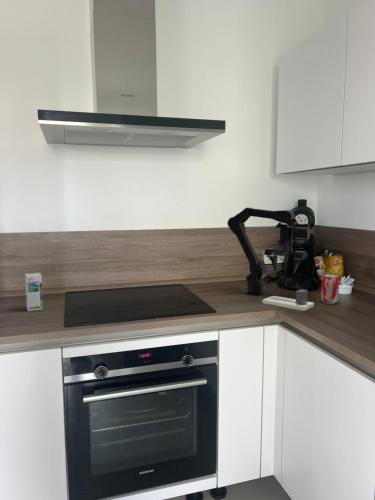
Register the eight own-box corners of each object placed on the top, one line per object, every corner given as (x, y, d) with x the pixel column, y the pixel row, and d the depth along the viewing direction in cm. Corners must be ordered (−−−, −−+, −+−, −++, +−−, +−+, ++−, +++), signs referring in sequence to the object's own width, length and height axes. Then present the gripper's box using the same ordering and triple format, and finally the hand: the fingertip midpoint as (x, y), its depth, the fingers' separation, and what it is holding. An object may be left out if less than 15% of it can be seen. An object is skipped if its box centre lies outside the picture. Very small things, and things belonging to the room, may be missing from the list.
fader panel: (262, 303, 168) (262, 299, 168) (273, 298, 176) (273, 295, 176) (304, 311, 156) (304, 307, 156) (314, 306, 164) (314, 302, 164)
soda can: (319, 303, 169) (321, 276, 168) (322, 299, 175) (323, 273, 174) (336, 305, 166) (338, 277, 164) (338, 301, 172) (340, 275, 171)
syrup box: (27, 311, 152) (26, 275, 150) (26, 307, 157) (24, 272, 155) (43, 309, 154) (41, 274, 153) (41, 306, 160) (39, 271, 158)
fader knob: (295, 302, 161) (296, 291, 160) (300, 300, 165) (301, 289, 164) (302, 304, 159) (302, 292, 159) (307, 301, 163) (307, 290, 162)
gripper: (258, 237, 174) (257, 271, 176) (297, 240, 163) (296, 277, 165) (270, 236, 183) (269, 268, 185) (308, 238, 171) (306, 273, 173)
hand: (284, 272), depth 177 cm, fingers open, 9 cm apart
